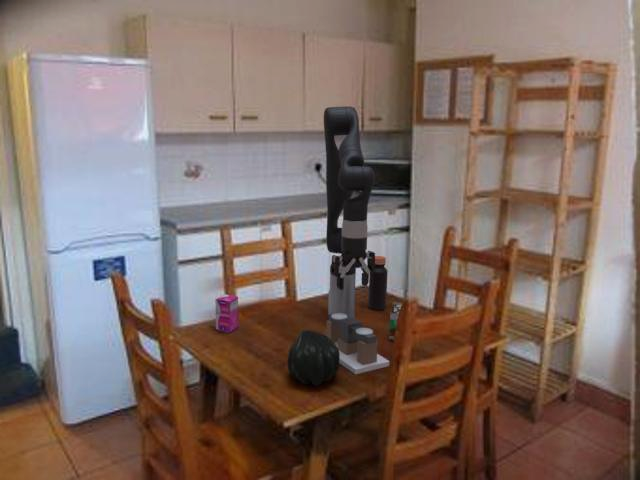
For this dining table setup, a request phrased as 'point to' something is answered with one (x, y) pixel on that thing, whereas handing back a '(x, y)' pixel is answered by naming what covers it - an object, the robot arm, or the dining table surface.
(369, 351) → the display stand
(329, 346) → the squash
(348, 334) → the grey white knobbed bar
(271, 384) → the dining table surface
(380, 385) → the dining table surface
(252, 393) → the dining table surface
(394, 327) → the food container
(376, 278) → the bottle
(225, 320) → the supplement box
